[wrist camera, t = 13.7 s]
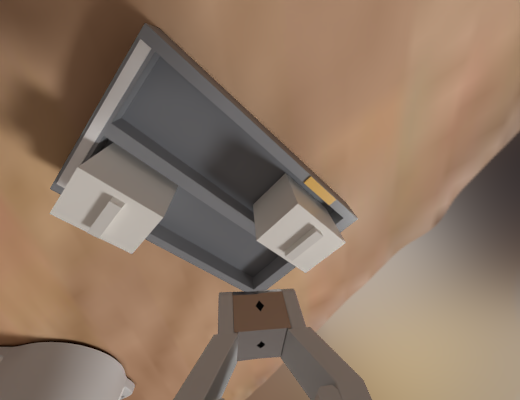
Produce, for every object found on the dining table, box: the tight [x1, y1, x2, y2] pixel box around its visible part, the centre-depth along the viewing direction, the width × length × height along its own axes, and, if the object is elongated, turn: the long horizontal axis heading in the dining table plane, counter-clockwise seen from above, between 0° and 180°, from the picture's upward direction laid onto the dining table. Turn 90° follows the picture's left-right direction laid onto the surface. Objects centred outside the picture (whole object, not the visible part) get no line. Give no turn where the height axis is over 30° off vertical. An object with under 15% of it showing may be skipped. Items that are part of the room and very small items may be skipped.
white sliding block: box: [253, 173, 346, 273], centre depth 18 cm, size 4×5×5 cm
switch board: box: [50, 23, 358, 292], centre depth 19 cm, size 12×19×3 cm, turn 47°
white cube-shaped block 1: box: [50, 142, 178, 254], centre depth 16 cm, size 4×5×5 cm
